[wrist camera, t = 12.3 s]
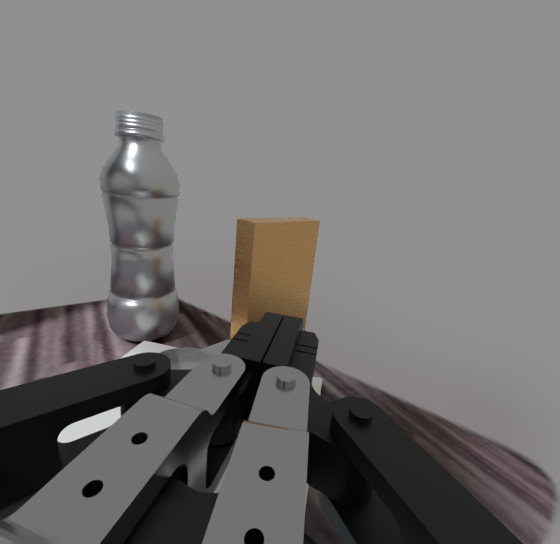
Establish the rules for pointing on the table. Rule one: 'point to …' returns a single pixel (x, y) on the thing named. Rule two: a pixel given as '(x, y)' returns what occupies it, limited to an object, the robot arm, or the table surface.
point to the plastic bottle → (140, 229)
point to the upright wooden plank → (264, 277)
